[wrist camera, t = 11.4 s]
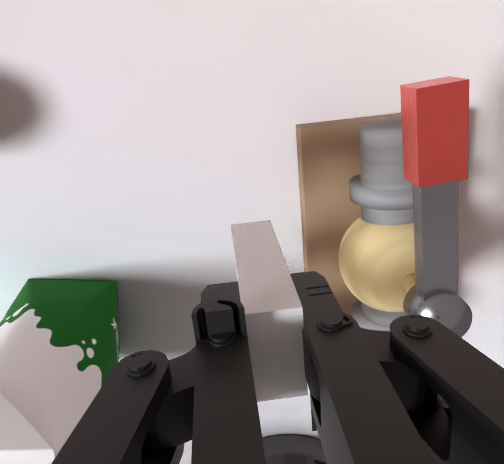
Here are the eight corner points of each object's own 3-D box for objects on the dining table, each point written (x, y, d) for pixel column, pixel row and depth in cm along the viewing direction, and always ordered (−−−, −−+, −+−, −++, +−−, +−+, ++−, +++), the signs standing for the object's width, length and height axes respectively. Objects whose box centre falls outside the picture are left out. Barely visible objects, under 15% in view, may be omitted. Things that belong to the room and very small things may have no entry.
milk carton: (130, 357, 42) (67, 604, 24) (25, 357, 41) (-126, 612, 23) (127, 270, 39) (52, 476, 20) (13, 267, 38) (-174, 481, 19)
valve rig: (435, 326, 43) (500, 407, 34) (308, 342, 43) (337, 430, 33) (449, 107, 36) (538, 131, 26) (295, 124, 35) (327, 155, 26)
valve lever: (452, 317, 30) (471, 339, 28) (404, 327, 30) (419, 349, 28) (453, 75, 24) (477, 78, 22) (393, 86, 24) (411, 90, 22)
